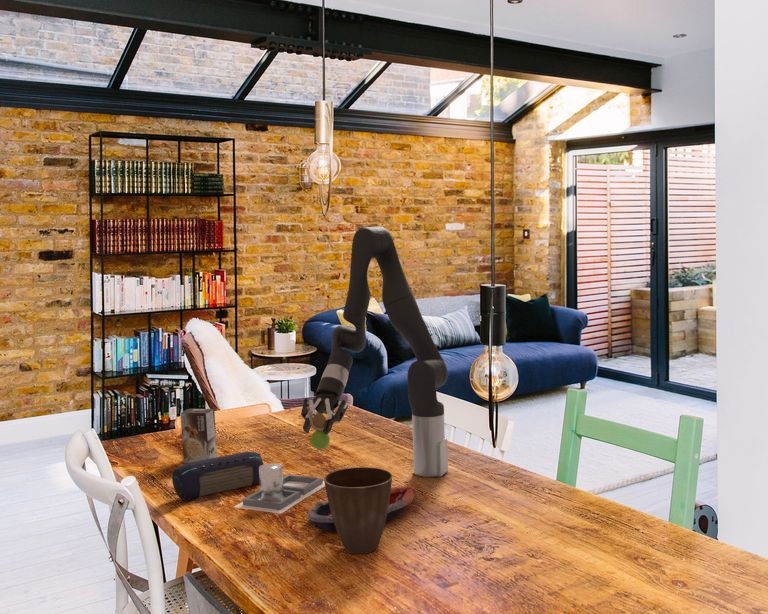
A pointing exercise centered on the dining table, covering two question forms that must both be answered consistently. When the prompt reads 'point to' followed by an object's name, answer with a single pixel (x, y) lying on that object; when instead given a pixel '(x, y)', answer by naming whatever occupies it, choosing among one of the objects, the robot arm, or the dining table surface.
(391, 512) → the dish
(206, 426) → the coffee box
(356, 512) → the plant pot
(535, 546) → the dining table surface
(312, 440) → the snail figurine
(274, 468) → the silver metal cylinder
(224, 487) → the portable speaker
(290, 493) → the compartment tray
